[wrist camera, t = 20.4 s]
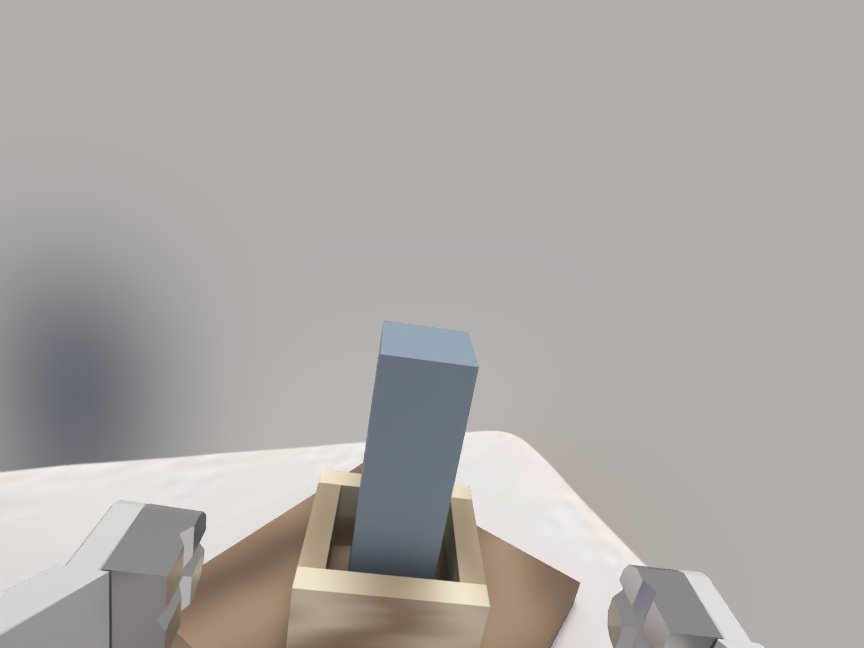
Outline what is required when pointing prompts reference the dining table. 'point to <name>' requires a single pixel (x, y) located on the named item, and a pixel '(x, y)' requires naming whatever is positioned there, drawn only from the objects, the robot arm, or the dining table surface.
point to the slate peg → (412, 449)
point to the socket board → (271, 571)
